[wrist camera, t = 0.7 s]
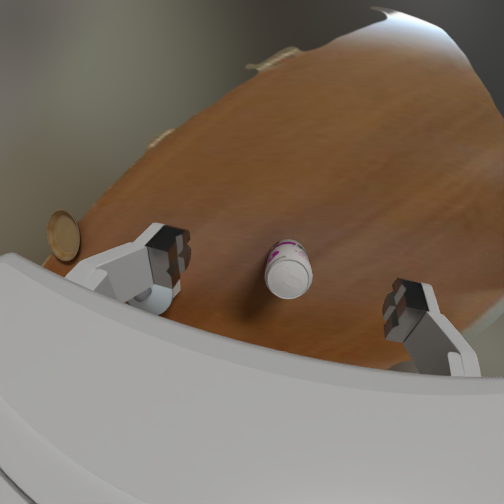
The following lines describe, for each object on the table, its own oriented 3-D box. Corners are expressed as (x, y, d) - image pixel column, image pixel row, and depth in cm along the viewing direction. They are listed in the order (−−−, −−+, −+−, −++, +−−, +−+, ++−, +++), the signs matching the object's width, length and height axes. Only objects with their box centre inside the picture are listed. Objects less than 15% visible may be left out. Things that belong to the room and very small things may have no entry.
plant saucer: (49, 212, 65) (44, 213, 62) (81, 204, 63) (75, 205, 60) (57, 259, 68) (51, 261, 66) (89, 257, 66) (83, 260, 64)
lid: (176, 316, 60) (169, 325, 55) (128, 311, 61) (119, 319, 57) (170, 260, 57) (161, 266, 52) (120, 259, 58) (109, 264, 54)
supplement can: (262, 266, 61) (256, 290, 46) (278, 232, 59) (277, 247, 44) (296, 281, 61) (299, 309, 46) (312, 248, 59) (321, 268, 44)
